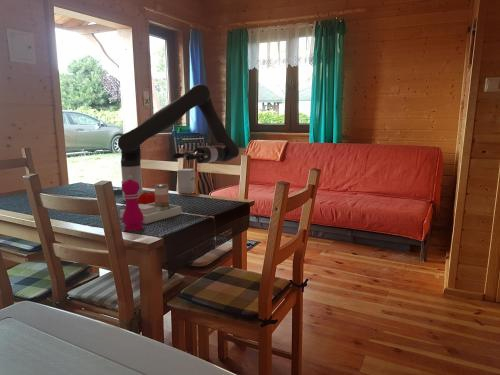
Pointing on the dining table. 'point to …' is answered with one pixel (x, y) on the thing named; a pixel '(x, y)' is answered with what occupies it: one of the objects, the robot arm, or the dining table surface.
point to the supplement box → (186, 181)
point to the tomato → (146, 198)
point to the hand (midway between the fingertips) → (179, 156)
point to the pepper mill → (132, 205)
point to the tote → (159, 213)
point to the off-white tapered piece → (147, 209)
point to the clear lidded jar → (161, 197)
